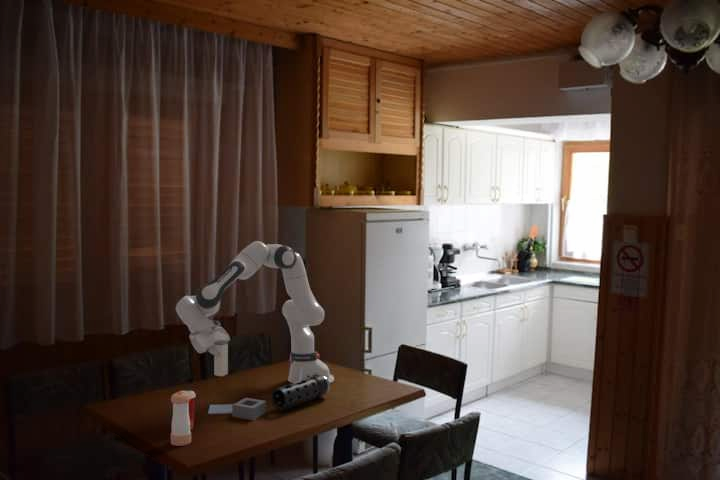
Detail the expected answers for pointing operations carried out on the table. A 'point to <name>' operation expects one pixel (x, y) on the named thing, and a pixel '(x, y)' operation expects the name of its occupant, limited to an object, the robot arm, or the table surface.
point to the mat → (220, 409)
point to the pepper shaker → (180, 419)
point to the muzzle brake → (300, 392)
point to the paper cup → (191, 407)
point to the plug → (221, 358)
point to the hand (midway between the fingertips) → (222, 355)
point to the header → (249, 409)
